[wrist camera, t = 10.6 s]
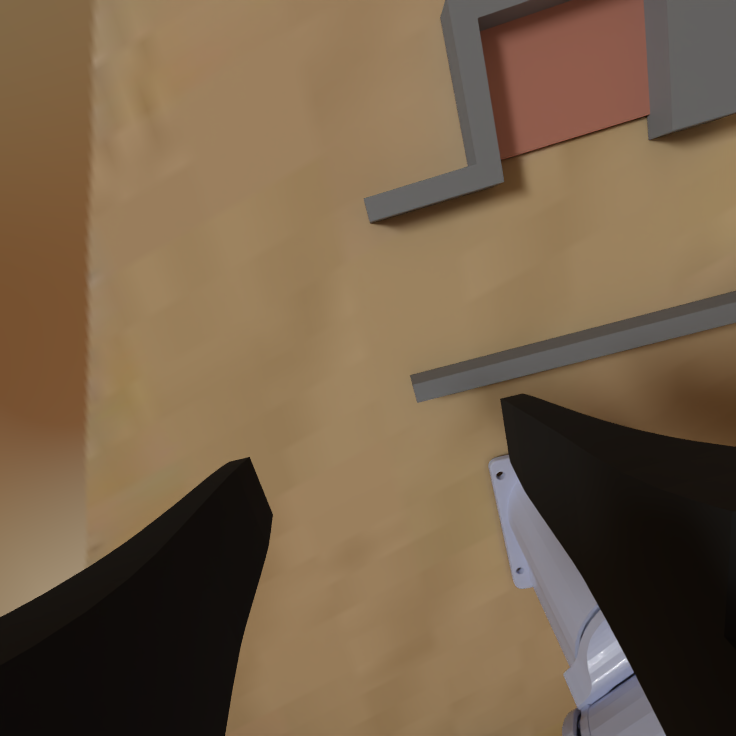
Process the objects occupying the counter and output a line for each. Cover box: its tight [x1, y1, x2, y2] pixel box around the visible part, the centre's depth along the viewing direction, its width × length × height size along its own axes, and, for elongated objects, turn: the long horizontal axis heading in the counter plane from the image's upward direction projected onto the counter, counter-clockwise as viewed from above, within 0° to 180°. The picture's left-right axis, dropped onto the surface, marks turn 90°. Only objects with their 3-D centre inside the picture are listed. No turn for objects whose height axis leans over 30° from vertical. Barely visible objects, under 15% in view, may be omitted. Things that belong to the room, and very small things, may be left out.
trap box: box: [364, 0, 736, 403], centre depth 17 cm, size 16×30×2 cm, turn 106°
